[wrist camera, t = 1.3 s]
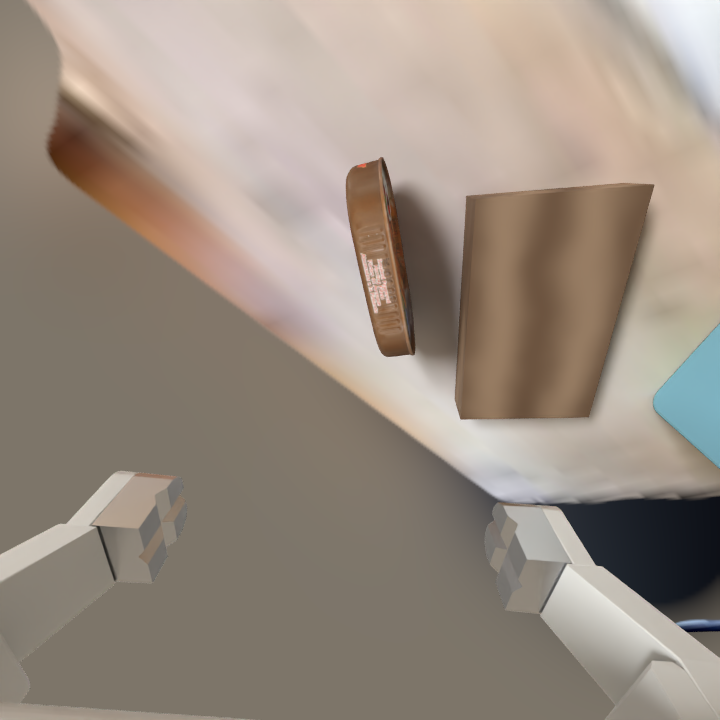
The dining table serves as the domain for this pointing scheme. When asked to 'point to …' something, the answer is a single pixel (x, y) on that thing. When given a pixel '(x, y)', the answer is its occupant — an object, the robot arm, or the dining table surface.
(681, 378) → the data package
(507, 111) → the dining table surface
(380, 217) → the tin
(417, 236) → the dining table surface
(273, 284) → the dining table surface
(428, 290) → the dining table surface
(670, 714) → the robot arm
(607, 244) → the walnut block
